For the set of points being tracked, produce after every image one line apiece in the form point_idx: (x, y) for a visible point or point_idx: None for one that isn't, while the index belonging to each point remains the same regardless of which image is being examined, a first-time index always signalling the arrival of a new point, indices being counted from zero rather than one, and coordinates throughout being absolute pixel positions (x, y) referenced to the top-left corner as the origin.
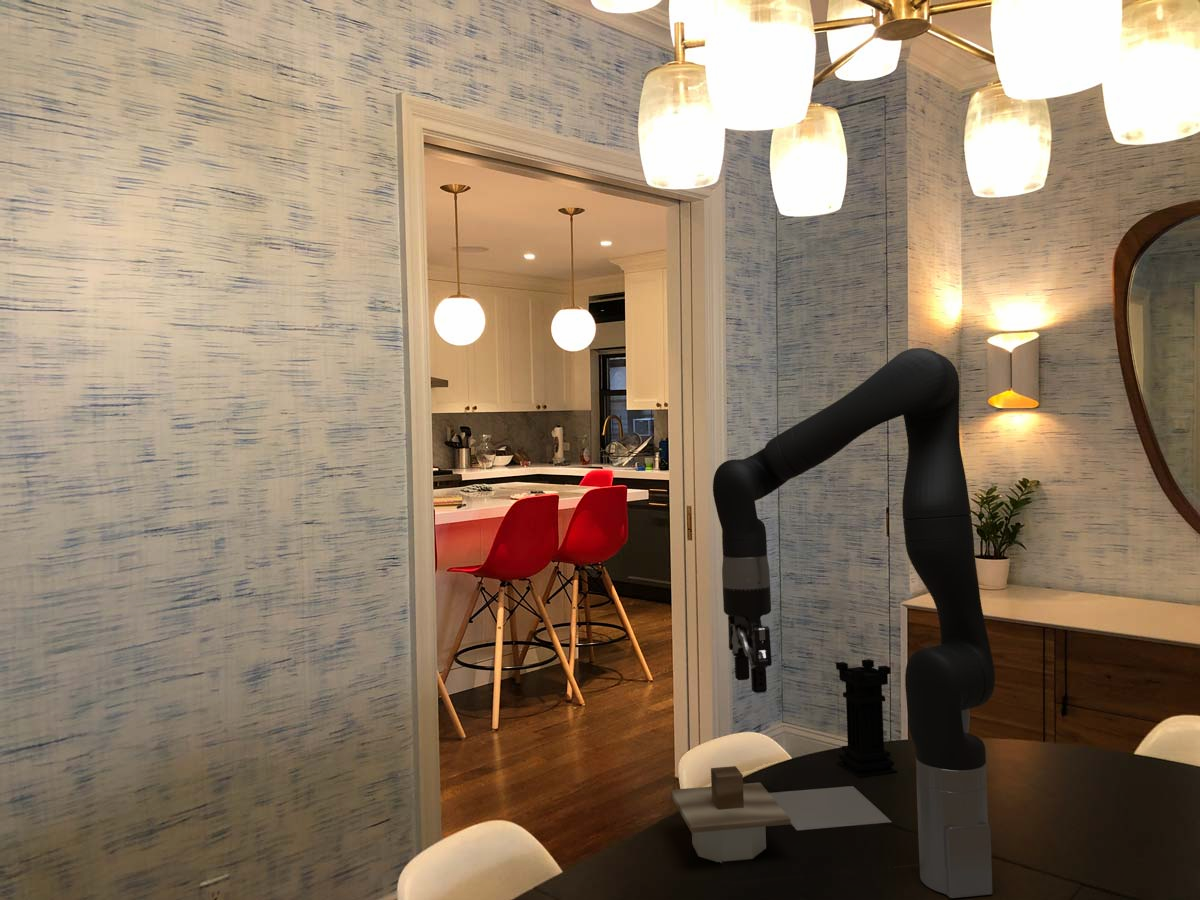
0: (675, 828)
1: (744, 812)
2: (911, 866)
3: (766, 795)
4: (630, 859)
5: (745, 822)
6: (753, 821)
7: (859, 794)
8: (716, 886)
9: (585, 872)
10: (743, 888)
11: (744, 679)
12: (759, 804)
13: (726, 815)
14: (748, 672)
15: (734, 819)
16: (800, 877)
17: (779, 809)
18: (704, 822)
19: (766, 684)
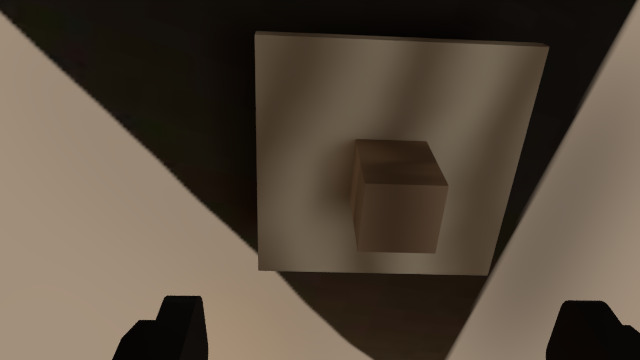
0: (249, 202)
1: (457, 149)
2: None
3: (364, 52)
4: (365, 295)
5: (514, 164)
6: (519, 145)
7: None
8: (520, 192)
9: (389, 355)
10: (550, 150)
11: (202, 317)
12: (421, 94)
13: (457, 194)
14: (189, 331)
15: (486, 183)
16: (564, 23)
17: (476, 52)
18: (473, 246)
19: (625, 331)
